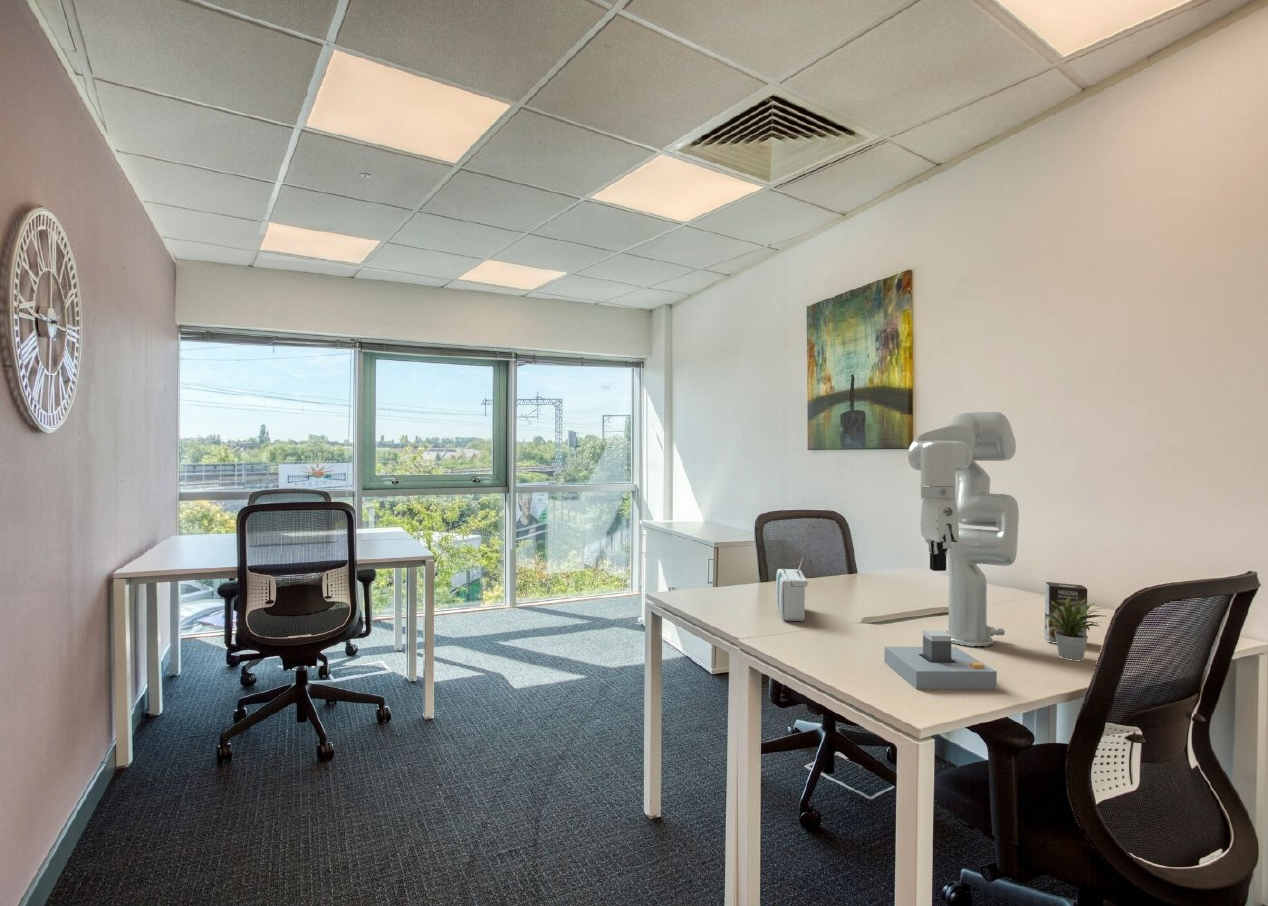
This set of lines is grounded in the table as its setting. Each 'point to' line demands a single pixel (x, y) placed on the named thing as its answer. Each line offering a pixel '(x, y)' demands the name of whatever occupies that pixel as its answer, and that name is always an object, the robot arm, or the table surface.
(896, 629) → the table surface
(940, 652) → the plug
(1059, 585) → the coffee box
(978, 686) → the socket
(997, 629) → the robot arm
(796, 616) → the stereo radio cassette player
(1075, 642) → the house plant
